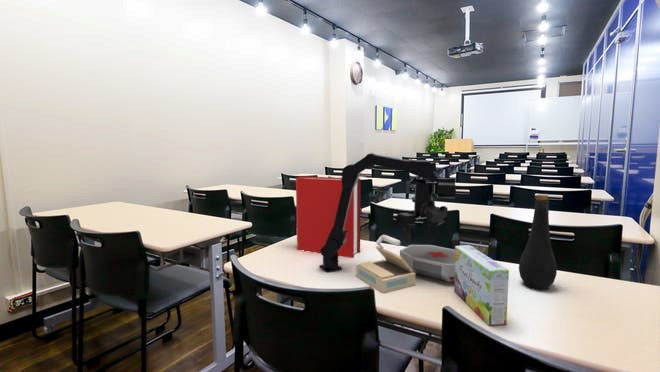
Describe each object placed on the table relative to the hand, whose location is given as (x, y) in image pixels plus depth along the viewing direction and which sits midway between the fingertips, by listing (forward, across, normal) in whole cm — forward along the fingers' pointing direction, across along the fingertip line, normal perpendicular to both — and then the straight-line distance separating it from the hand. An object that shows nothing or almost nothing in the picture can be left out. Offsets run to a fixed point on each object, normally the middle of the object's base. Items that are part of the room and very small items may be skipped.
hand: (421, 240), depth 121 cm
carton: (+13, -14, +2) cm, 19 cm away
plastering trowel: (+5, -12, +2) cm, 13 cm away
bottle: (+12, +28, -24) cm, 39 cm away
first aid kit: (+13, +6, -2) cm, 14 cm away
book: (+13, -17, +40) cm, 45 cm away
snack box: (+13, -1, -26) cm, 29 cm away
